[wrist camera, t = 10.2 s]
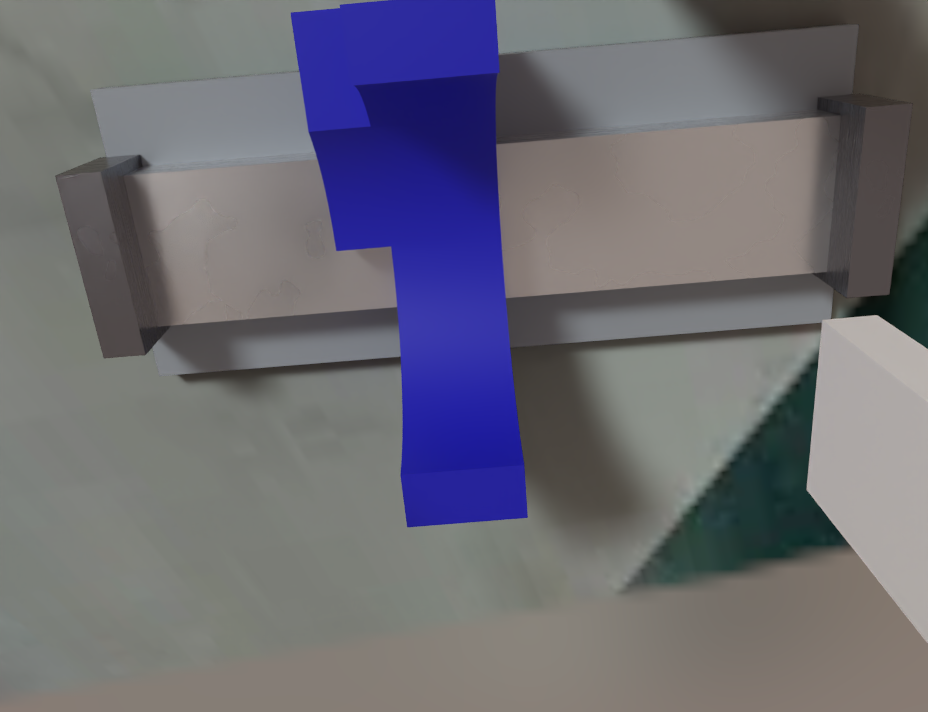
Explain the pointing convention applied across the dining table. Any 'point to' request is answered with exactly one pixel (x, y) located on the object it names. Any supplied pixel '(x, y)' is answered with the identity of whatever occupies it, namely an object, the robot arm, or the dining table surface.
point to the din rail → (504, 219)
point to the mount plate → (517, 112)
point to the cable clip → (426, 229)
